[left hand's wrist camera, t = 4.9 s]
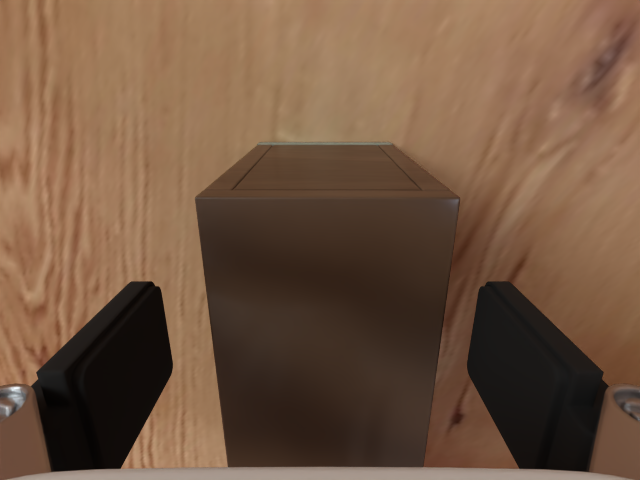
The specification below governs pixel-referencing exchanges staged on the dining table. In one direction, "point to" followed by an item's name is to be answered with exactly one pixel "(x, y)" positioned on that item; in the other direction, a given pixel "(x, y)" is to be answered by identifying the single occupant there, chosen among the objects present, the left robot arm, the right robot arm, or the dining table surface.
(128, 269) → the dining table surface
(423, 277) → the cabinet
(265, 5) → the dining table surface
